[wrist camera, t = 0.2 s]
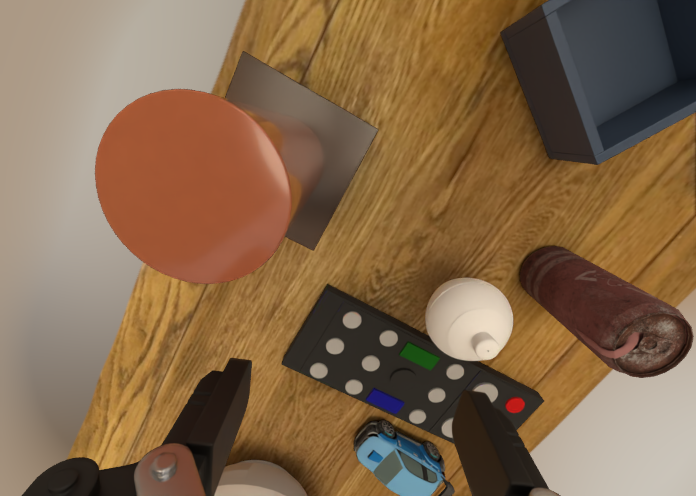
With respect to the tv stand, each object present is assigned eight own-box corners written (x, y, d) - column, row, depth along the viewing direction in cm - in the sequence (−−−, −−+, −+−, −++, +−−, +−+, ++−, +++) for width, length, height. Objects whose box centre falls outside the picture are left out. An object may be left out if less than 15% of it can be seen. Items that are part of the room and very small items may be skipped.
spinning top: (481, 250, 36) (542, 303, 25) (479, 312, 39) (533, 386, 27) (411, 256, 36) (438, 312, 25) (413, 317, 39) (439, 393, 28)
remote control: (484, 449, 46) (489, 463, 44) (283, 356, 41) (280, 367, 39) (537, 392, 42) (546, 404, 41) (327, 283, 38) (326, 291, 36)
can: (508, 259, 37) (598, 331, 23) (566, 235, 36) (694, 296, 22) (523, 304, 38) (615, 394, 25) (579, 282, 37) (705, 364, 24)
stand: (275, 75, 31) (242, 50, 21) (370, 130, 32) (378, 129, 23) (234, 173, 34) (189, 189, 24) (323, 219, 35) (313, 251, 26)
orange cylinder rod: (221, 145, 23) (50, 162, 10) (292, 96, 22) (208, 42, 9) (271, 217, 25) (182, 313, 12) (340, 175, 24) (328, 228, 11)
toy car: (372, 410, 43) (375, 450, 38) (445, 448, 46) (458, 491, 40) (348, 439, 45) (347, 480, 40) (419, 475, 47) (428, 518, 42)
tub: (499, 32, 30) (541, 4, 23) (643, -60, 27) (733, -118, 21) (549, 158, 33) (597, 165, 27) (680, 86, 31) (767, 73, 24)
